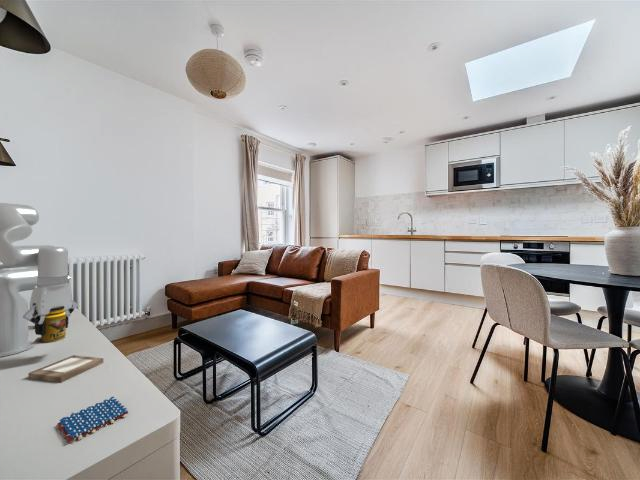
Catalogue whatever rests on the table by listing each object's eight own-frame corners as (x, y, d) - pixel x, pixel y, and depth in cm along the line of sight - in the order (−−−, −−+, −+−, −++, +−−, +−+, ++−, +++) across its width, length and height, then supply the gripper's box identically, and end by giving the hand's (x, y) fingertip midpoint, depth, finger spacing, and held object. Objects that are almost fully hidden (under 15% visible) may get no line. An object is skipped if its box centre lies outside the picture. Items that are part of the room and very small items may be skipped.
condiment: (63, 341, 90) (64, 307, 90) (28, 346, 85) (29, 311, 85) (69, 334, 96) (70, 302, 96) (37, 338, 92) (37, 305, 91)
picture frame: (28, 377, 78) (28, 372, 78) (73, 359, 89) (73, 354, 89) (61, 382, 75) (61, 376, 75) (103, 362, 87) (103, 357, 87)
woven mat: (55, 427, 58) (55, 418, 58) (113, 402, 66) (113, 394, 66) (68, 448, 52) (68, 439, 52) (129, 418, 61) (129, 409, 61)
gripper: (72, 276, 100) (71, 322, 100) (11, 285, 83) (11, 339, 83) (87, 278, 99) (87, 324, 99) (29, 286, 82) (28, 342, 82)
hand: (52, 330), depth 91 cm, fingers closed on condiment, 6 cm apart
